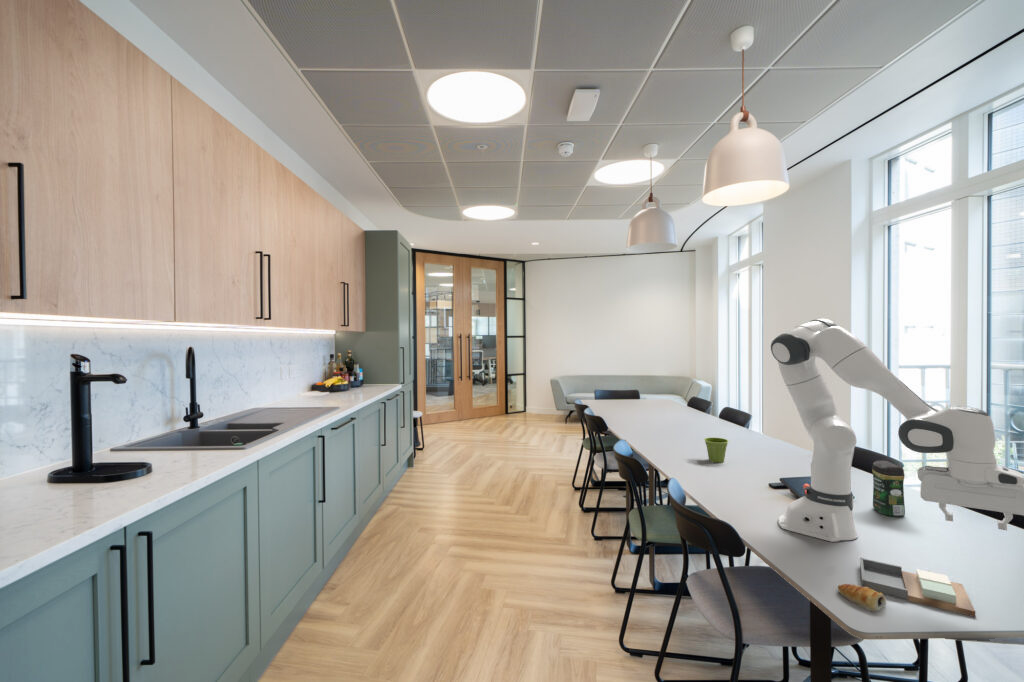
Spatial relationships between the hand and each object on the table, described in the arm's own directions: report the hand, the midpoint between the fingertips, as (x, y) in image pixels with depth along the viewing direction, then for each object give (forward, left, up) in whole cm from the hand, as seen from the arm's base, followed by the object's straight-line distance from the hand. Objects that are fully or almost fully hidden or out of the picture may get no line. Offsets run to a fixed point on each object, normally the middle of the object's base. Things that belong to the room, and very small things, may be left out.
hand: (975, 524), depth 115 cm
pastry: (-23, -19, -18) cm, 35 cm away
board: (-8, -6, -18) cm, 21 cm away
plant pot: (-80, +93, -18) cm, 124 cm away
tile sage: (-8, -9, -17) cm, 20 cm away
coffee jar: (-13, +54, -18) cm, 59 cm away
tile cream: (-8, -3, -17) cm, 19 cm away
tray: (-19, -6, -18) cm, 27 cm away
